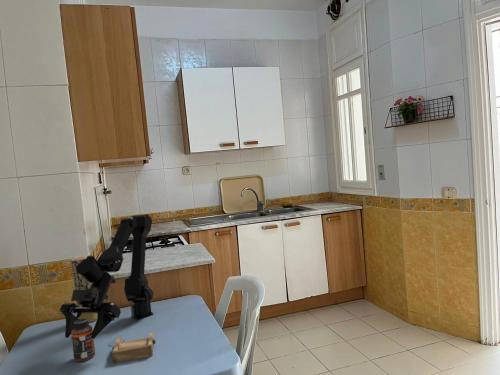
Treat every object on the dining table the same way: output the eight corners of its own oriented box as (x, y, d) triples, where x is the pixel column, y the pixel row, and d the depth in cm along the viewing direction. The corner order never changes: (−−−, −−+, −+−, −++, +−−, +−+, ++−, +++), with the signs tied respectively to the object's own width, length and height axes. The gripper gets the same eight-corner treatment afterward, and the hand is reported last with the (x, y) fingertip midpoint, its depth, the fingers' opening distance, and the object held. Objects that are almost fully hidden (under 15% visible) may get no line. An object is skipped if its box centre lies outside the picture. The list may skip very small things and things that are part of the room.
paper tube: (90, 323, 143) (83, 258, 142) (75, 324, 144) (67, 259, 143) (101, 316, 149) (94, 254, 148) (86, 317, 151) (78, 255, 150)
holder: (115, 347, 119) (114, 338, 119) (156, 339, 122) (155, 330, 122) (110, 363, 108) (109, 353, 108) (155, 355, 111) (154, 345, 111)
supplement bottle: (90, 361, 111) (85, 323, 111) (70, 363, 111) (65, 325, 111) (98, 352, 117) (94, 316, 117) (80, 353, 117) (75, 318, 117)
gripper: (59, 278, 120) (36, 326, 109) (110, 276, 115) (91, 327, 105) (79, 294, 128) (59, 341, 117) (128, 293, 123) (111, 342, 112)
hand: (79, 337), depth 113 cm, fingers open, 9 cm apart
